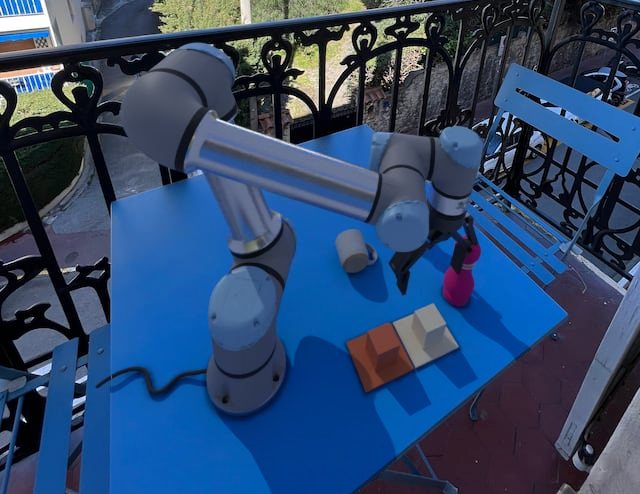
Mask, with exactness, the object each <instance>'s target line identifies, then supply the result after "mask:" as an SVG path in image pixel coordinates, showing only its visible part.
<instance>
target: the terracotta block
mask: <svg viewBox="0 0 640 494" xmlns="http://www.w3.org/2000/svg"><path fill="white" fill-rule="evenodd" d="M366 334H367V339H366V346H365V349H366V352H367V354H368V356H369V359H370V361H371V363H372V366H373V368H374V370H375V372H378V371H380V370H382V369H384V368H386V367H388V366H390V365H393V364H395V363H397V358H398V353H399V348H400V344H399V342H398V340H397V338H396V336H395V334H394V332H393V330H392V328H391V326H390V322H386V323H383V324H381V325H379V326H377V327H375V328H371V329H369V330H367V332H366Z"/></svg>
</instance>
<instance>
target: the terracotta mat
mask: <svg viewBox="0 0 640 494" xmlns="http://www.w3.org/2000/svg"><path fill="white" fill-rule="evenodd" d="M389 324H390V326H391V328H392V330H393V332H394V334H395V336H396V338H397V340H398V342H399V344H400V348H399V353H398V358H397V363H395V364H393V365H390V366H388V367H386V368H384V369H382V370H380V371H378V372H375V370H374V368H373V366H372V363H371V361H370V359H369V356H368V354H367V352H366V349H365V346H366V339H367V333H365V334H362V335H360V336H358V337H355V338H353V339H351V340H348V341H346V346H347V349H348V351H349V354H350V357H351V359H352V362H353V365H354V366H355V367H354V368H355V370H356V372H357V374H358V377H359V380H360V382H361V385H362V388H363V390H364V392H365V394H366V393H370V392H371V391H374V390H375V389H377V388H379V387H381V386H383V385H385V384H387V383H390V382H392V381H394V380H396V379H398V378H400V377H402V376H404V375H406V374H408V373H410V372H412V371H414V369H415V367H414V365H413V363H412V361H411V359H410V357H409V355H408V353H407V351H406V349H405V347H404V345H403V343H402V341H401V339H400V337H399V335H398V333H397V331H395V330H396V329H395V327H394V325H393V323H390V322H389Z"/></svg>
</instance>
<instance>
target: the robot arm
mask: <svg viewBox="0 0 640 494" xmlns="http://www.w3.org/2000/svg"><path fill="white" fill-rule="evenodd" d="M235 68H236V67H235V65H234V64H233V61H232V60H231V58H230V57H229V56H228V55H227V54H226V53H225V52H224V51H223V50H221V49H220V48H216V47H214V46H213V45H212V44H208V43H203V42H191V43H186V44H184V45H182V46H180V47H178V48H177V49H173V50H172V51H171V52H169V53H168V54H167V55H166V56H165V57H164V58H163V59H162V60H160V62H158V63H157V64H156V65H154V66H153V67H152V68H150V70H148V71H147V72H145V73H144V74H142V75H141V76H139V77H138V78H137V79H135V80H134V81H133V82H132V83H131V84H130V85H129V86H128V88H127V90H126V91H125V92H124V95H123V97H122V99H121V104H120V121H121V124H122V127H123V130H124V132H125V135H126V136H127V138H128V139H129V141H130V142H131V143H132V144H133V145H134V147H135V148H136V150H139V152H141V153H142V154H143V155H145V156H146V157H148V158H149V159H150V160H152V161H154V162H156V163H157V164H159V165H161V166H163V167H165V168H168V169H171V170H174V171H177V172H180V173H182V174H186V175H190V174H192V173H195V172H197V171H201V172H202V175H203V177H204V179H205V181H206V184H207V185H208V187H209V190H210V191H211V193H212V197H213V198H214V200H215V202H216V204H217V206H218V209H219V211H220V213H221V215H222V217H223V220H224V221H225V223H226V226H227V228H228V230H229V231H228V233H227V236H226V245H227V248H228V249H229V252H230V254H231V256H232V258H233V261H232V264H231V267H230V270H229V272H228V274H224V276H222V277H221V278H220V280H219V281H218V282H217V284H215V286H214V288H213V289H212V292H211V295H210V297H209V302H208V309H207V310H208V312H207V324H208V330H209V332H210V334H209V335H210V340H211V346H212V354H211V356H210V358H209V361H208V364H207V367H205V368H201V369H195V370H189V371H183V372H181V373H179V374H178V375H176V376H174V377H173V378H172V379H171V380H170V381H169V382H168V383H167V384H166V385H165V386H164V387H162V388H160V389H154V388H153V387H152V383H151V377H150V373H149V371H148V369H147V368H146V367H143V366H130V367H125V368H123V369H120V370H118V371H115V372H114V373H112V374H110V375H108V376H106V377H105V378H103V379H102V380H101V381H99V382H98V383H97V384H96V385H95V389H99V388H101V387H102V386H103V385H105V384H106V383H108V382H109V381H111V380H113V379H114V378H117V377H119V376H121V375H123V374H127V373H132V372H140V373H142V374H144V378H145V385H146V389H147V391H148V393H149V394H151V395H153V396H158V395H162V394H163V393H165V392H166V391H168V390H169V389H171V387H172V386H173V385H174V384H175V383H177V381H179V380H180V379H183V378H186V377H191V376H197V375H198V376H199V375H203V374H206V378H205V381H206V388H207V393H208V397H209V399H210V401H211V403H212V404H213V406H214V407H215V408H216V409H217V410H218V411H219V412H221V413H223V414H225V415H228V416H230V417H237V418H239V417H246V416H250V415H253V414H255V413H257V412H259V411H261V410H263V409H264V408H265V407H266V406H268V405H269V404H270V403H271V402H272V401H273V400H274V399H275V397H277V395H278V393H279V391H280V389H281V388H282V386H283V383H284V380H285V376H286V372H287V355H286V350H285V346H284V344H283V342H282V341H281V339H280V338H279V336H278V335H277V321H278V316H279V312H280V308H281V303H282V299H283V296H284V292H285V290H286V285H287V281H288V277H289V275H290V271H291V266H292V262H293V260H294V257H295V255H296V252H297V242H298V233H297V229H296V227H295V225H294V224H293V222H292V221H291V220H290V218H288V217H286V218H285V217H284V214H282V213H280V212H278V211H276V210H274V209H272V208H270V207H269V205H268V202H267V199H266V197H265V195H264V192H263V191H265V192H269V193H271V194H274V195H278V196H280V197H283V198H287V199H290V200H293V201H296V202H299V203H303V204H306V205H309V206H312V207H316V208H319V209H322V210H325V211H327V212H331V213H333V214H338V215H341V216H343V217H347V218H350V219H353V220H357V221H358V222H359V221H360V222H362V223H364V224H367V225H370V226H373V227H375V231H376V236H377V239H378V241H379V242H380V243H381V244H382V245H383V246H385V248H387V249H388V250H390V251H393V252H394V254H393V255H392V256H391V258H390V260H389V261H388V265H389V267H390V269H391V271H392V273H393V274H394V277H395V279H396V283H395V284H396V287H397V289H398V290H399V293H400V294H401V296H403V297H404V296H406V295H407V291H408V287H409V281H410V276H411V271H410V269H411V268H412V267H413V266H414V265H415V264H416V263H417V262H418V260H420V258H422V256H423V255H424V254H425V253H426V252H427V251H431V250H432V249H433V248H434V247H435V246H436V245H437V244H440V243H442V242H447V241H448V240H449V239H450V238H452V239H453V240H454V241H455V242H456V241H457V242H458V243H456V244H455V243H454V245H455V248H454V247H453V252H452V254H451V255H452V256H451V259H450V263H449V264H450V267H452V268H453V269H454V271H455V272H456V274H457V275H458V274H460V273H461V269H462V266H463V262H464V259H465V258H466V256H467V253H469V254H471V253H472V252H473V249H472V248H471V246H472V245H473V246H477V245H478V243H479V239H478V237H477V233H476V232H475V227H474V222H475V218H474V217H473V216H472V214H471V213H470V211H468V207H469V203H470V200H471V196H472V193H473V188H474V186H475V182H476V178H477V175H478V171H479V168H480V167H481V164H482V162H481V161H482V156H483V151H484V150H483V149H484V143H483V140H482V138H481V136H480V135H479V134H478V133H476V132H475V131H474V130H472V129H470V128H468V127H465V126H460V125H453V126H448V127H445V128H444V129H443V130H442V131H441V133H440V135H439V137H434V136H433V137H429V136H421V135H414V134H407V133H400V132H396V131H395V132H394V131H393V132H387V131H386V132H384V131H376V132H374V133H373V135H372V137H371V142H370V149H369V159H368V168H366V167H363V166H360V165H358V164H355V163H351V162H348V161H346V160H343V159H339V158H336V157H333V156H331V155H327V154H325V153H321V152H318V151H315V150H313V149H310V148H306V147H303V146H300V145H298V144H294V143H291V142H288V141H286V140H282V139H280V138H276V137H274V136H271V135H268V134H264V133H262V132H258V131H256V130H253V129H250V128H247V127H243V126H240V125H237V124H236V123H235V118H236V116H237V114H238V113H239V107H238V104H237V102H236V99H235V97H234V94H233V92H232V88H233V86H234V85H235V81H236V69H235ZM426 181H430V183H429V189H428V191H426ZM427 192H428V193H427ZM462 228H463V231H464V234H465V236H466V237H467V238H466V239H464V238H463V237H462V236H463V235H462V234H461V233H459V232H458V231H460V230H461V229H462ZM428 241H429V242H428ZM111 375H112V379H111Z"/></svg>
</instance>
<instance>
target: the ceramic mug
mask: <svg viewBox="0 0 640 494" xmlns="http://www.w3.org/2000/svg"><path fill="white" fill-rule="evenodd" d="M334 243H335V247H336V251H337V255H338V258H339V262H340V265H341V267H342V270H344V271H345V273H349V274H355V273H359V272H361V271H363V270H365V268H366V267H367V266H372V265H374V264H375V263H376V261H377V260H378V253H377V250H376V248H375V247H374V246H372V245H371V244H370V243H368V242H366V241H365V238H364V235H363V232H361V230H358V229H355V228H354V229H353V228H352V229H351V228H350V229H347V230H346V229H345V230H343V231H342V232H340V233H339V234H338V235H337V237H336V238H335V242H334ZM368 251H369V252H370V254H371V256H372V260H370V259H369V252H368Z"/></svg>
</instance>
